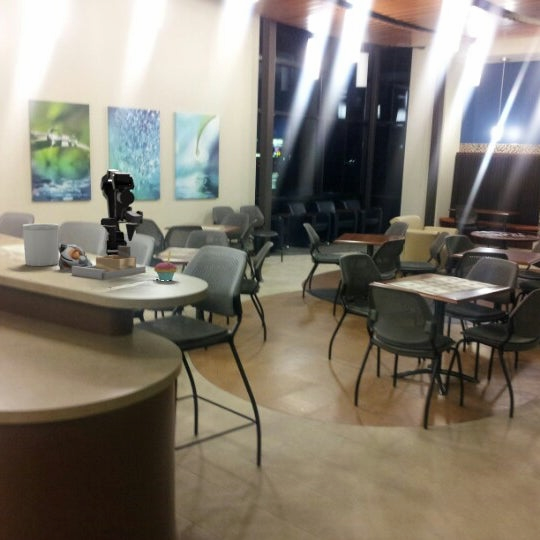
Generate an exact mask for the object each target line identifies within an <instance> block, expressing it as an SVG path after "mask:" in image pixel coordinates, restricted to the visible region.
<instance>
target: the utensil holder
mask: <svg viewBox="0 0 540 540" xmlns="http://www.w3.org/2000/svg"><path fill="white" fill-rule="evenodd" d="M21 225H22V229H23V244H24V245H23V247H24V248H23V249H24V260H25V261H24V262H25V265H26V266H29V265H30V267H45V266H46V267H48V266H55V265H56V266H57V265H59V259H60V253H59V249H58V245H59V244H60V243H59V228H60V227H59V224H58V223H26V224H25V223H24V224H21Z"/></svg>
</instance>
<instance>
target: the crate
mask: <svg viewBox="0 0 540 540" xmlns="http://www.w3.org/2000/svg"><path fill="white" fill-rule="evenodd" d="M117 251H118V255H109V256H107V255H101V256H96V257H95V265H96V269H101V270H106V272H110V271H116V270H122V269H128V268H134V267H137V257H135V256H131V246H128V245H127V246H118V250H117Z"/></svg>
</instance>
